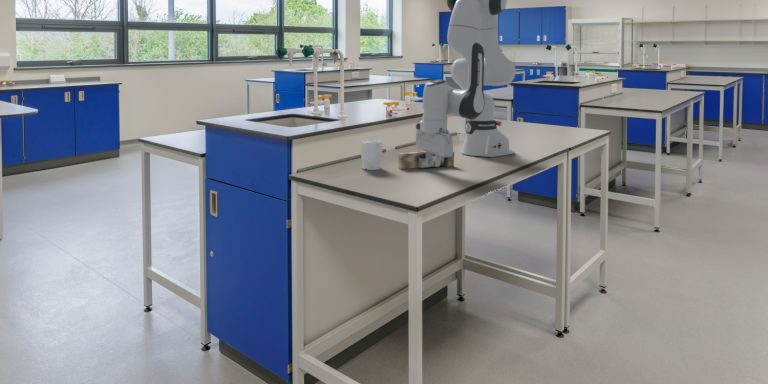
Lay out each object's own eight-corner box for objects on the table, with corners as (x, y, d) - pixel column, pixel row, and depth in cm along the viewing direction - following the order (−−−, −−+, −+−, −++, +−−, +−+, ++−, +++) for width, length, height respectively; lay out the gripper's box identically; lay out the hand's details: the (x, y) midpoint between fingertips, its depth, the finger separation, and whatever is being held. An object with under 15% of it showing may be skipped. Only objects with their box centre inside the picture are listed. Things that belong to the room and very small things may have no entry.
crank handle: (441, 164, 232) (441, 150, 231) (445, 165, 230) (446, 152, 228) (417, 166, 226) (417, 153, 225) (422, 168, 224) (422, 154, 223)
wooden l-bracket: (445, 163, 235) (445, 149, 234) (453, 166, 230) (454, 151, 229) (398, 168, 226) (398, 153, 225) (406, 171, 221) (406, 156, 220)
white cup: (368, 171, 220) (368, 143, 217) (356, 167, 226) (356, 140, 224) (386, 169, 224) (386, 141, 222) (373, 165, 231) (374, 138, 228)
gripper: (458, 130, 210) (456, 170, 214) (427, 122, 228) (427, 159, 231) (442, 131, 207) (441, 171, 211) (412, 123, 225) (412, 160, 229)
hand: (433, 165), depth 221 cm, fingers open, 3 cm apart
